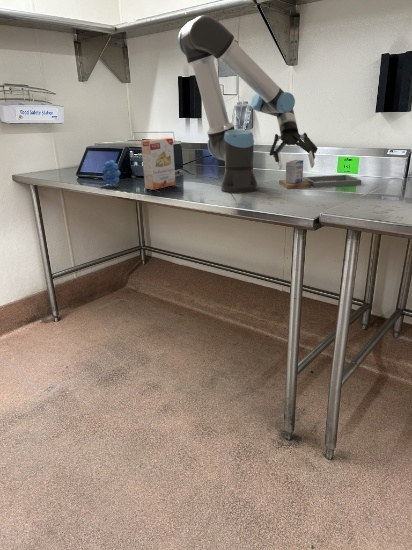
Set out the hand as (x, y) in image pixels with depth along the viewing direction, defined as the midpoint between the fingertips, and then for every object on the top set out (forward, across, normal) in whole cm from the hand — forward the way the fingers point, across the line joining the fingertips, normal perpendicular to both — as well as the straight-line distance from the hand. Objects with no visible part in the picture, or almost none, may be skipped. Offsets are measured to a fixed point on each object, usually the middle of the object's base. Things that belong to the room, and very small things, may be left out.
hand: (296, 166), depth 170 cm
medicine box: (+3, 0, -7) cm, 7 cm away
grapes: (-13, +79, -25) cm, 84 cm away
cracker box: (-4, +57, -16) cm, 59 cm away
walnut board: (+4, 0, -7) cm, 8 cm away
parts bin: (+4, -16, -7) cm, 18 cm away
